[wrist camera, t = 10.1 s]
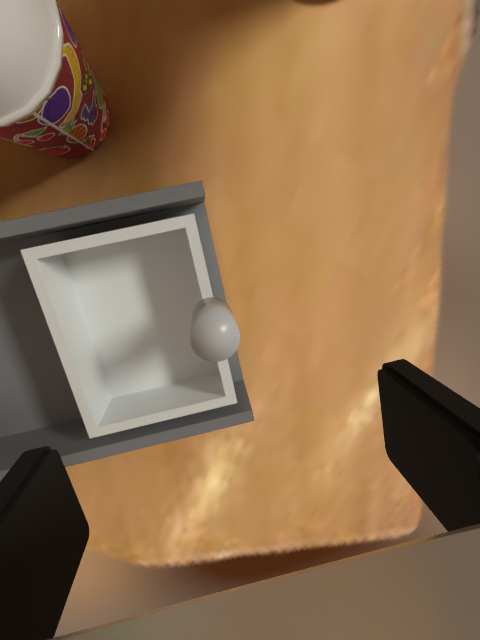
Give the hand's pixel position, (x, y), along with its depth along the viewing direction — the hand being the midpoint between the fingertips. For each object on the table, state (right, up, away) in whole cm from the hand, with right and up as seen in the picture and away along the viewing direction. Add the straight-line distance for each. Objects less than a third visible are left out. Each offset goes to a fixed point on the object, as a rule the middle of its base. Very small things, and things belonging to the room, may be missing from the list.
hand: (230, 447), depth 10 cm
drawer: (-7, +4, +22) cm, 23 cm away
